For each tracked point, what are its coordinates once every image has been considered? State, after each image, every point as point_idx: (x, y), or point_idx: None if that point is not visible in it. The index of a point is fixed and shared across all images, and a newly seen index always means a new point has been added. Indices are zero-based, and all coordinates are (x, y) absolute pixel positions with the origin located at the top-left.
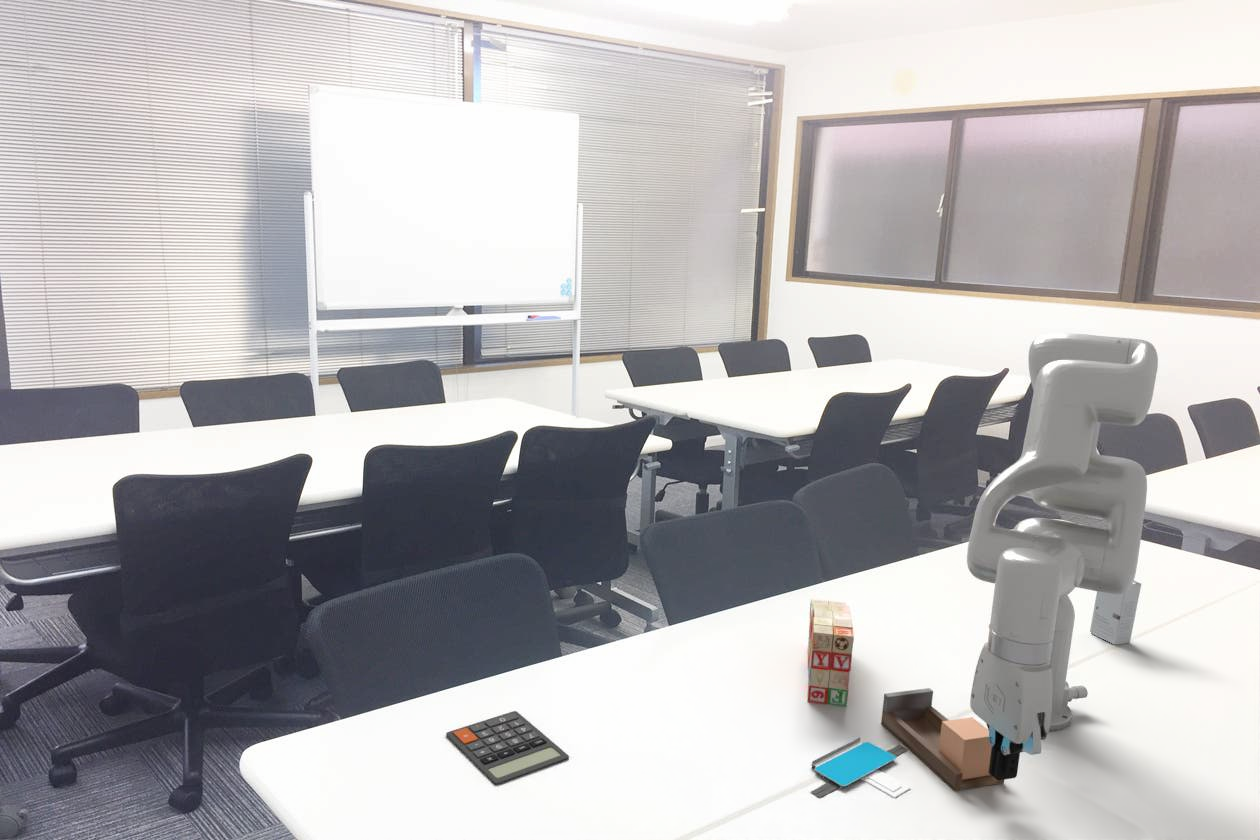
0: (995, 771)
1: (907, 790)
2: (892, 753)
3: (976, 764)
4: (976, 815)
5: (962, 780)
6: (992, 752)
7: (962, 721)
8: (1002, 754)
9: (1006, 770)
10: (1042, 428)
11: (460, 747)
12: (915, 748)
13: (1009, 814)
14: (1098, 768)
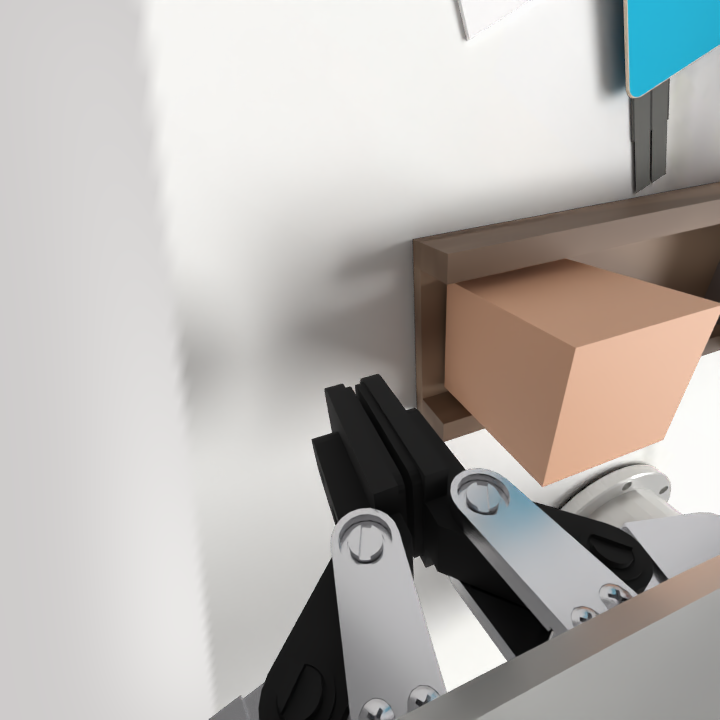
0: (347, 402)
1: (461, 14)
2: (649, 114)
3: (473, 358)
4: (265, 250)
5: (446, 290)
6: (420, 447)
7: (669, 395)
8: (370, 498)
9: (317, 455)
10: None
11: None
12: (630, 205)
13: (269, 369)
14: (418, 584)
